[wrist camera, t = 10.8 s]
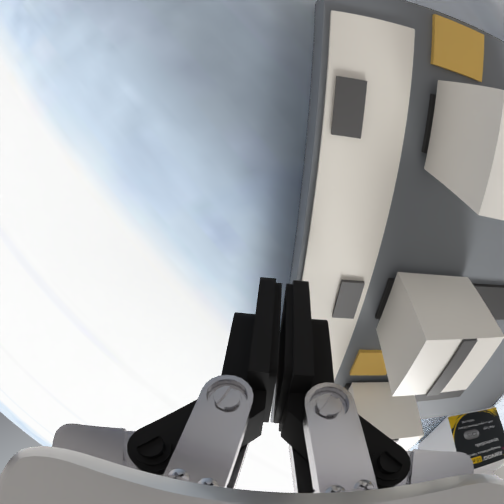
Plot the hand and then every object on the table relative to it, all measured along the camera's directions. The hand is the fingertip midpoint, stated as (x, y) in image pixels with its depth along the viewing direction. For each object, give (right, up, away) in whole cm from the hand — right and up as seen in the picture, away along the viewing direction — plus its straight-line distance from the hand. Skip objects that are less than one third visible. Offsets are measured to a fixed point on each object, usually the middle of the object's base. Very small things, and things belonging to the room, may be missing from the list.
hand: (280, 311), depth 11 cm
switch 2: (+6, +6, -3) cm, 9 cm away
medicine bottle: (+21, -17, +13) cm, 30 cm away
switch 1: (+6, -6, +4) cm, 9 cm away
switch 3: (+6, 0, 0) cm, 6 cm away
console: (+10, +1, +3) cm, 10 cm away
